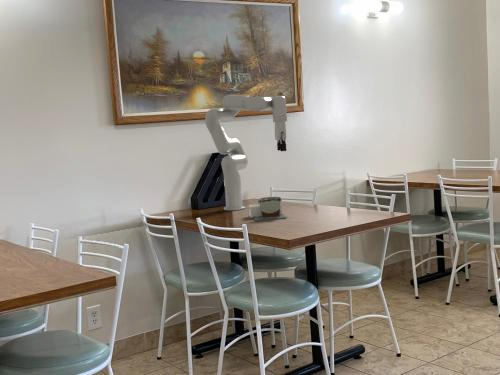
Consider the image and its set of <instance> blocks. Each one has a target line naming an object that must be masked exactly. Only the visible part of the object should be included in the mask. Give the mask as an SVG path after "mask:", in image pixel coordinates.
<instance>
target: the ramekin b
mask: <svg viewBox="0 0 500 375" xmlns="http://www.w3.org/2000/svg"><path fill="white" fill-rule="evenodd" d="M282 214H283V206H282V203H281V204H280V215H282Z"/></svg>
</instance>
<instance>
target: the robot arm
mask: <svg viewBox="0 0 500 375" xmlns="http://www.w3.org/2000/svg"><path fill="white" fill-rule="evenodd" d="M221 100H222V101H221V105H222V107H213V108H211V109H209V110H207V112H206V114H205V118H204V119H205V120H204V123H205V126H206V128H207V130H208V132H209V133H210V135H211V136H210V137H211V139H212V140H213V142H214V145H215V148H216V150H217V152H218V153H219V154H220V155H224V157H223V158H222V160H221V169H222V172H223V181H224V182H223V183H224V194H225V195H224V196H225V206H224V207H223V210H224V211H240V210H244V208H245V209H246V205H243V197H242V195H243V194H242V182H241V175H240V173H239V171H241V170H244V169H246V167H247V166H248V164H249V163H248V160H249V159H248V158H247V157H248V156H247V155H246V152H245V149H244V148H243V146H242V143H241V141H240V140H239V139H237V138H236V137H232V136H230V137H229V136H228V135H227V132H226V129H225V128H224V126H222V125H221V124H220V123H228V122H230V121H232V120H233V119H234V118H235V117H236V116H237V115H238V114H239V112H240V111H250V112H251V111H252V112H264V111H265V112H268V111H271V112H272V121H273V123H274V139H275V141H276V148H277V151H278V152H287V141H286V140H287V127H286V122H288V118H287V116H288V115H287V100H286V96H283V95H277V96H249V95H245V94H244V95H243V94H227V95H225V96H224V97H223V98H222V99H221Z"/></svg>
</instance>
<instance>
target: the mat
mask: <svg viewBox="0 0 500 375" xmlns="http://www.w3.org/2000/svg"><path fill="white" fill-rule="evenodd" d="M287 218H288V217H287V216H285V214H283V213H282V215H280V217H272V218H262V216H261V217H253V218H252V219H253V220H254V221H255V222H261V221H263V222H264V221H271V220H272V221H273V220H274V221H276V220H285V219H287Z"/></svg>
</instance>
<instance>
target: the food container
mask: <svg viewBox="0 0 500 375" xmlns="http://www.w3.org/2000/svg"><path fill="white" fill-rule="evenodd" d="M281 202H282V197H281V196H265V197H261V198H259V199H258V203H257V204H260V209H261V215H262V218H272V217H280V204H282V203H281Z"/></svg>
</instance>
